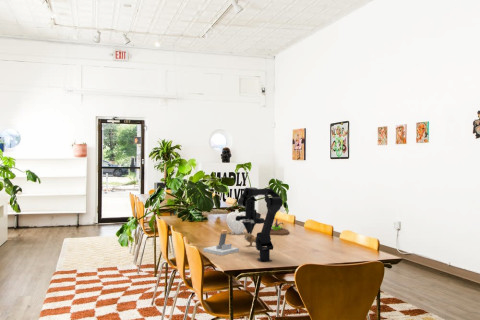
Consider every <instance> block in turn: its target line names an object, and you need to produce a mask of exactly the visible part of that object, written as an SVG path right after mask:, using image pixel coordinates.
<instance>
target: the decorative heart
mask: <svg viewBox="0 0 480 320" xmlns="http://www.w3.org/2000/svg"><path fill="white" fill-rule="evenodd" d="M240 215H242V216H245V211H240V212H238V213H237V212H235V211H231V212H228V213H227V215H226V220H225V221H226V224H227V226H228V228H229V229H230V230H231V232H232V233H234V234H236V235H239V234H240V235H242V234H243V235H245V234H244V233H245V230H246V228H245V226H244V224H243V223H242V222H243V220H240V221H236V216H240Z"/></svg>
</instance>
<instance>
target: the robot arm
mask: <svg viewBox="0 0 480 320" xmlns="http://www.w3.org/2000/svg"><path fill="white" fill-rule="evenodd" d="M258 196H264V201H265V204H266V209H267V210H266V211H267V212H266V215H265V218H263V217H262V216H261V215H262V214H261V213H259V212H257V209H256V202H257V201H258V200H257V199H256V198H257V197H258ZM269 196H270V197H269ZM237 205H238V206H239V207H244V208H245V209H243V212H245V213H244V214H245V215H244V216H243V215H241V214H240V216H236V215H235V216H236V217H235V218H236V219H235V220H236V221H240V220H241V221H242V220H243V221H242V223H243V224H244V226H245V230H246V233H248V234H251V235H253V234H252V233H253V231H254V229H255V226H256V225H257V224H258V225H259V224H263V226H262V228H261V230H260V231H261V232H260V231H259V232H257V233H256V236H255V237H256V238H255V239H256V241H255V242H254V243H255V249H256V250H257V251H259V258H257V260H258V261H259V262H272V259H271V257H270V256H271V255H270V253H271V250H272V251H273V249H274V244H273V243H272V241H271V240H272V236H271V235H270V231H271V229H273V228H272V226H274V221H275V218H276V215H277V213H278V212H279V211H280V210H281V208H282V205H283V199H282V197H281V195H279V194H278V193H277V192H275V191H274V189H273V188H271V187H270V188H269V187H265V188H258V187H245V188H244V189H243V192H242V194H241V195H240V197H239V198H238V200H237ZM242 223H241V224H242Z"/></svg>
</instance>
